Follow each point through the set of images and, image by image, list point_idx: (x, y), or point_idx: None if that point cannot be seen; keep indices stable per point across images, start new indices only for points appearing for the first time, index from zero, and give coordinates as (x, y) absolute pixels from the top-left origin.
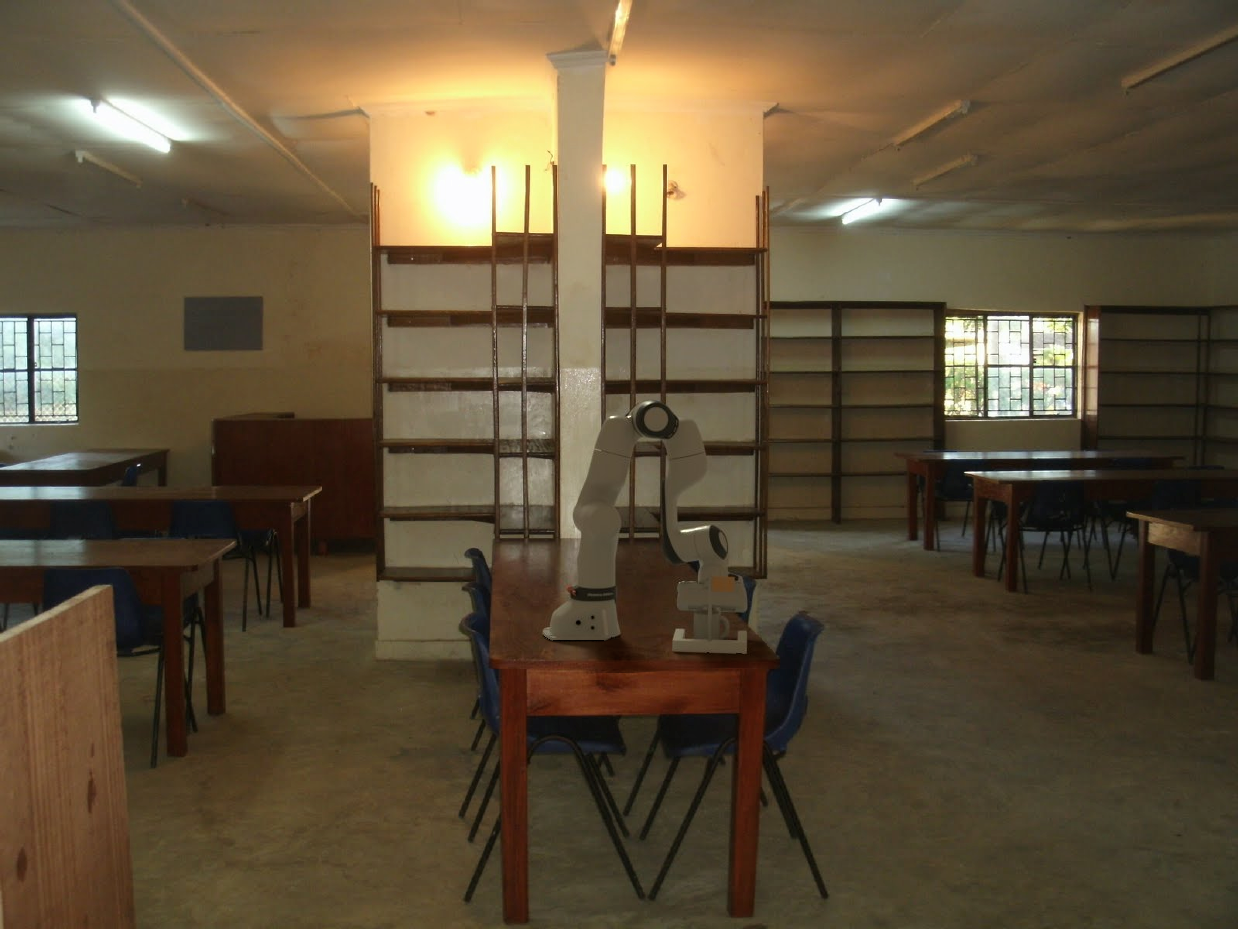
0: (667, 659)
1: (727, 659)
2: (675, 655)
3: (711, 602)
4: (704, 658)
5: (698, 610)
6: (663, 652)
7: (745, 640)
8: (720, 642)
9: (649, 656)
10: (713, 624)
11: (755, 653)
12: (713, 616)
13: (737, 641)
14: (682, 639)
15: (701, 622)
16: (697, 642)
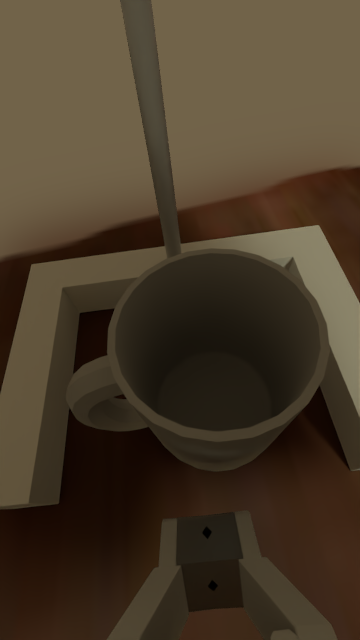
0: (283, 188)
1: (116, 227)
2: (277, 223)
3: (133, 54)
4: (183, 219)
5: (308, 382)
6: (330, 241)
7: (29, 293)
8: (131, 252)
9: (348, 197)
10: (161, 308)
11: (19, 305)
12: (153, 275)
13: (64, 272)
14: (286, 246)
15: (231, 285)
16: (219, 242)
